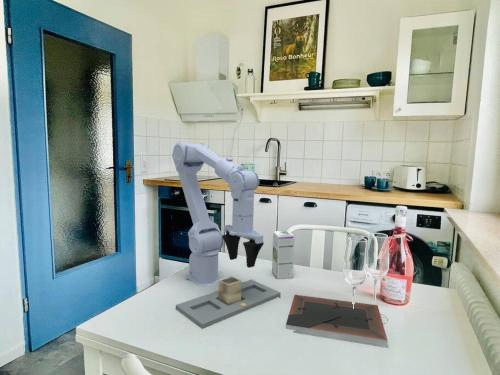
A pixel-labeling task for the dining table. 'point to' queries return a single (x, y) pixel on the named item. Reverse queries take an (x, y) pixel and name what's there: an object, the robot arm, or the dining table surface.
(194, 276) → the robot arm
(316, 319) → the picture frame
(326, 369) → the dining table surface
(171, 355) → the dining table surface
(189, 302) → the paneled door
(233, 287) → the frame block
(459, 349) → the dining table surface
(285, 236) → the syrup box
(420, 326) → the dining table surface
